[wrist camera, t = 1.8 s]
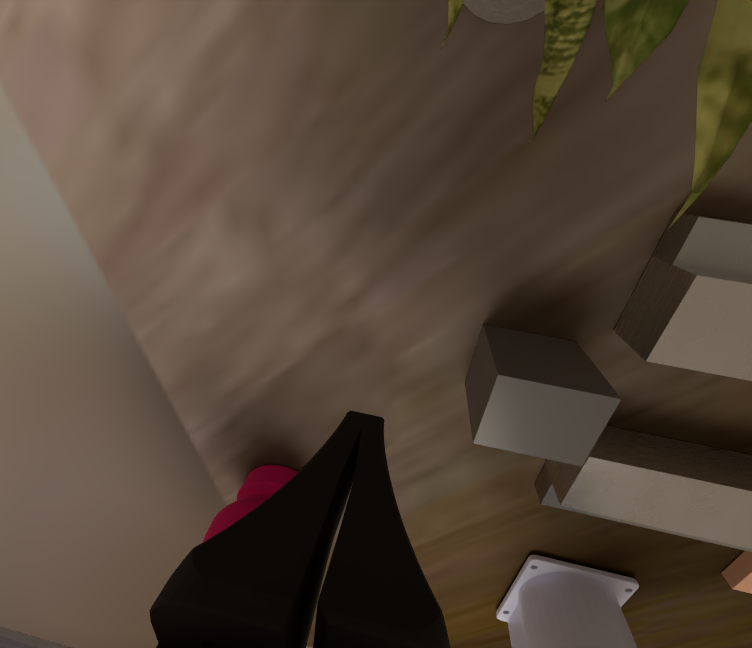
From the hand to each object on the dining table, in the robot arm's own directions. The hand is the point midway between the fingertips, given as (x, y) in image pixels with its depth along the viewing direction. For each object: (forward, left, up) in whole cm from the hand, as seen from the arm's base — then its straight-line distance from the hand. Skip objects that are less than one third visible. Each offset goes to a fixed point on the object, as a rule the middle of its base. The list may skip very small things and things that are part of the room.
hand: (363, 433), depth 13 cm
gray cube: (0, -8, -8) cm, 11 cm away
